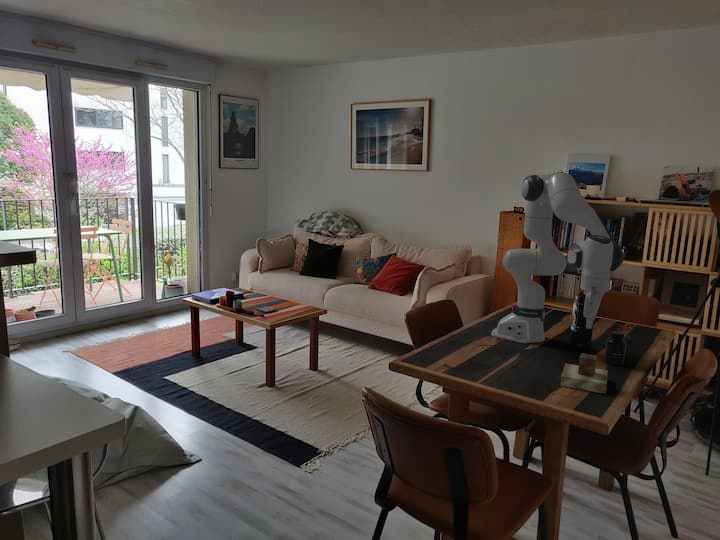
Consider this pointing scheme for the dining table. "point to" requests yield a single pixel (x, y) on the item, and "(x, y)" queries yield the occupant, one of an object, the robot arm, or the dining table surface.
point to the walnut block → (587, 364)
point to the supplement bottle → (615, 349)
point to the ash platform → (584, 379)
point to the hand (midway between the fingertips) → (590, 324)
